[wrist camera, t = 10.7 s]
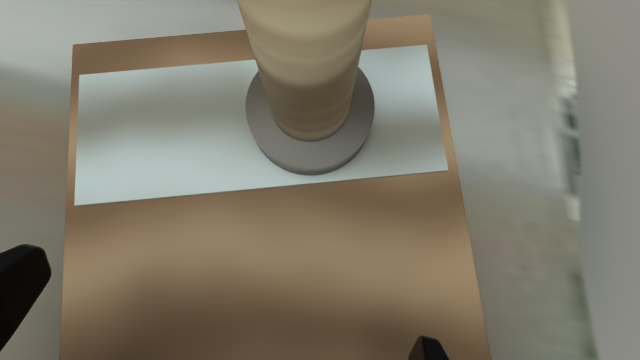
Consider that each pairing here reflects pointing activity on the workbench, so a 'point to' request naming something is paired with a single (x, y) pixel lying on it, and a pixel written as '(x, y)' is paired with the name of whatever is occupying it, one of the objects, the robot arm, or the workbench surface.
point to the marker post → (308, 82)
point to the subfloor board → (259, 213)
